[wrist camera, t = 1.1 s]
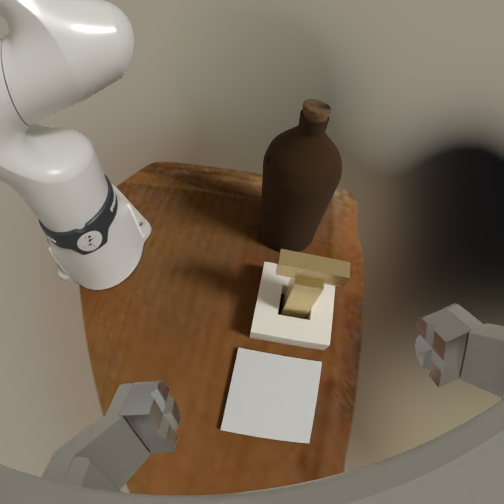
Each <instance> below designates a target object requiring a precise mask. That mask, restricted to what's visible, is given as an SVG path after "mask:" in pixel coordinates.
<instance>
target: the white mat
mask: <svg viewBox="0 0 504 504" xmlns="http://www.w3.org/2000/svg"><path fill="white" fill-rule="evenodd" d="M321 365H322V362H319V361H312V360H305V359H299V358H293V357H287V356H281V355H275V354H269V353H264V352H258V351H253V350H248V349H243V348H238V352H237V357H236V361H235V366H234V370H233V375H232V380H231V384H230V389H229V393H228V398H227V403H226V407H225V412H224V416H223V421H222V425H221V430H224V431H229V432H234V433H239V434H244V435H250V436H256V437H262V438H268V439H275V440H283V441H291V442H300V443H309V441H310V436H311V430H312V425H313V419H314V413H315V407H316V400H317V394H318V387H319V380H320V373H321Z"/></svg>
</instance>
